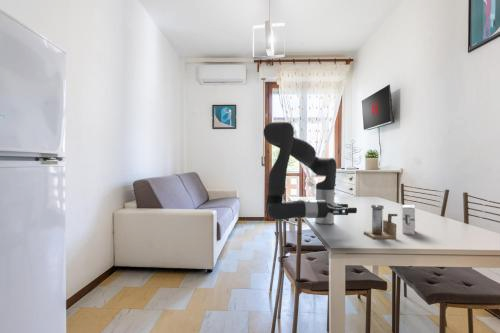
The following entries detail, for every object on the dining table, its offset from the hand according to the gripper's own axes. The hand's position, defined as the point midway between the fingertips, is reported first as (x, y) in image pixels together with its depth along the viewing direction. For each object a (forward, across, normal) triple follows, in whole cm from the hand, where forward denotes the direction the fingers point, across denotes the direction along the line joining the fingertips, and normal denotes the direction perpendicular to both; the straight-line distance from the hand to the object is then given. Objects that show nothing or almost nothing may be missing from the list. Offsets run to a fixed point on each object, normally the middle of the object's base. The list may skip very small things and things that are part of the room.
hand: (351, 208), depth 120 cm
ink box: (+29, +6, +13) cm, 32 cm away
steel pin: (+11, 0, +11) cm, 16 cm away
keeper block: (+14, 0, +12) cm, 18 cm away
